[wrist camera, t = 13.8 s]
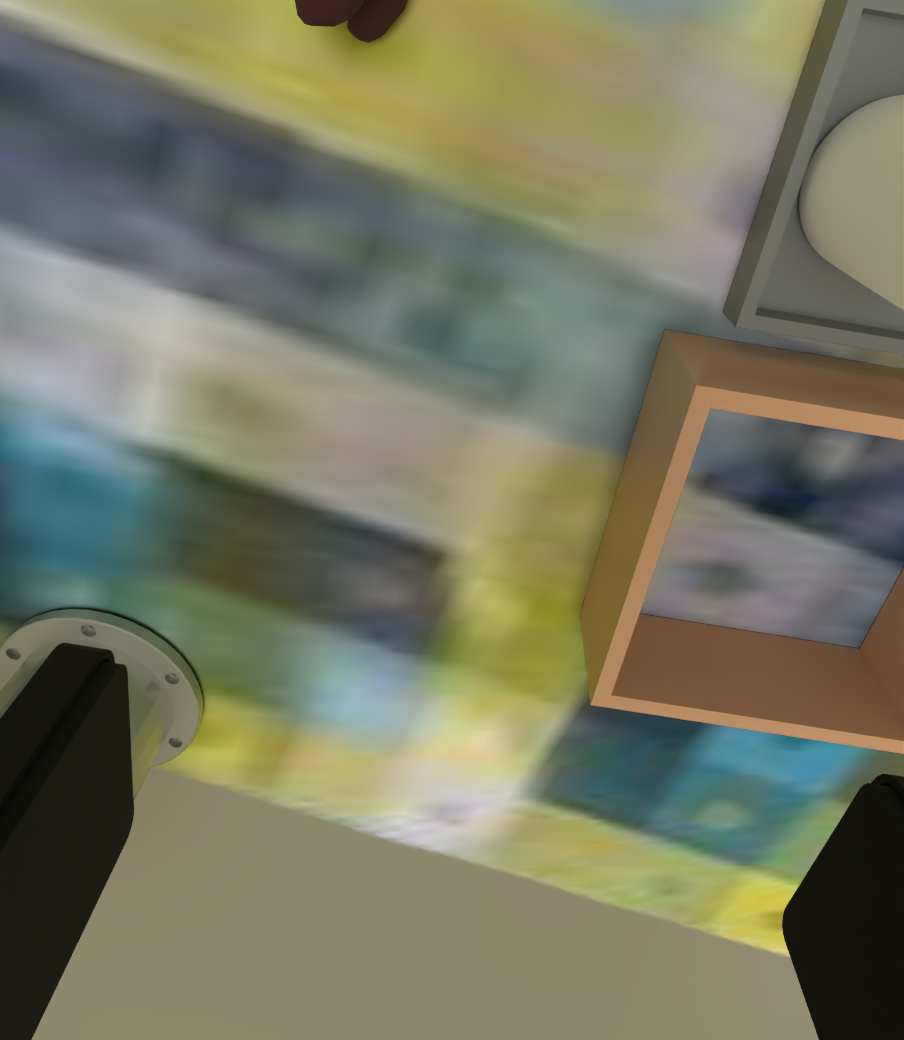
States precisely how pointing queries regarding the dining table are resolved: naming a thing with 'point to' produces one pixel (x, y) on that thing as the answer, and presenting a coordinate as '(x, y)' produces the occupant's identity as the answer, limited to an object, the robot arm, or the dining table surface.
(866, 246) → the can
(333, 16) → the icecream
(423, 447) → the dining table surface
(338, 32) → the dining table surface
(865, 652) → the brown square frame
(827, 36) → the tray
